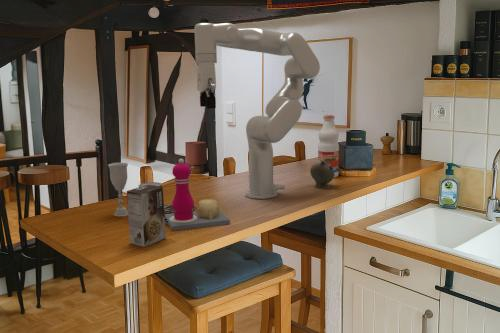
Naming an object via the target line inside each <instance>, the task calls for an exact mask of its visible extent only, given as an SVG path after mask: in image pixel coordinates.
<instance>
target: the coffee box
mask: <svg viewBox="0 0 500 333" xmlns="http://www.w3.org/2000/svg"><path fill="white" fill-rule="evenodd" d="M126 200H127V212H128V215H127V216H128V227H129V228H128V229H129V241H130V242H129V243H130V244H131V245H136V246H138V247H139V246H140V247H144V248H146V247H148V246H151V245H153V244H155V243H157V242H159V241H160V242H161V241H163V240H164V239H166V238H167V234H166V232H167V231H166V220H165V215H166V214H165V204H164V203H165V202H164V187H163V186H162V187H158V186H154V185H146V186H142V187H139V186H138V187H135V188H132V189H129V190H126Z"/></svg>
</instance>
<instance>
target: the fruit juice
mask: <svg viewBox="0 0 500 333" xmlns="http://www.w3.org/2000/svg"><path fill="white" fill-rule="evenodd" d="M339 136H340V134H339V131H338V129H337V127H336V124H335V115H334V114H333V115H332V114H326V115H323V124H322V127H321V129H320V130H319V132H318V139H319V141H318V150H317V152H318V153H317V154H318V155H317V161H319V159H320V160H321V161H327V162H329V164H330V165H331V166H332V168H333V169H332V170H331V171H332V172H333V173H334V174H335V175H334V178H337V177H339V167H340V166H339V164H340V160H339V159H340V157H339V156H340V145H339V142H338V141H339V138H340V137H339Z"/></svg>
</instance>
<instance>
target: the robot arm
mask: <svg viewBox="0 0 500 333" xmlns="http://www.w3.org/2000/svg"><path fill="white" fill-rule="evenodd" d="M194 47H195V48H194V51H195V64H197V67H196V68H197V69H196V90H197V91H199V106H200V107H201V108H202V107H206V108H207V109H216V108H217V105H216V104H217V103H216V102H217V100H216V99H217V97H216V89H217V82H216V80H217V79H216V77H217V76H216V75H217V74H216V67H215V64H217V63H218V62H217V61H218V57H217V56H218V55H217V54H218V52H217V50H218V49H217V47H220V48H221V47H223V48H227V49H228V48H229V49H234V50H235V49H236V50H241V51H242V50H243V51H248V52H256V53H261V54H262V53H263V54H268V55H274V56H280V57H282V56H283V57H287V56H292V57H290V58H289V59H287V60H286V62H285V64H284V68H283V69H284V83H283V85H282V87H281V88H280V89H279V90H278V92H276V93H275V95H274V96H273V97H272V98H271V99H270V100H269V101H268V103H266V106H265V114H266V115H267V116H265V115H255V116H252V117H251V118H249V119H248V121H247V123H246V127H245V131H246V132H245V133H246V137H247V139H246V140H247V144H248V170H249V171H248V172H249V176H248V177H249V178H248V179H249V180H248V182H249V190H247V191H246V192H245V196H246V197H247V198H250V199H254V200H257V199H258V200H265V199H266V200H267V199H273V198H275V197H277V196H278V190H285V189H286V185H285V184H279V183H278V184H276V183H274V148H273V145H272V144H277V143H279V142H280V141H281V140H283V138H285V137H286V136H287V134H289V132H290V131H291V130H292V129H293V127H294V126H296V124H297V123H298V122H299V120H300V118H301V116H302V111H303V106H302V103H301V102H300V100H301V98H302V96H303V93H304V80H305V79H308V80H310V79H314V78H315V77H317V76H318V74H319V73H320V69H321V66H320V65H321V64H320V61H319V59H318V57H317V55H315V53H314V51H313V50H312V49H311V47H310V45H309V44H308V42H307V41H306V39H305V38H304V37H303V36H302V35H301V34H300V33H298V32H278V31H273V30H268V29H264V28H258V27H257V28H256V27H255V28H254V27H253V28H250V27H249V28H238V27H237V26H236V25H235V24H233V23H231V22H223V23H222V22H220V23H212V22H211V23H210V22H201V23H196V24H195V26H194Z"/></svg>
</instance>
